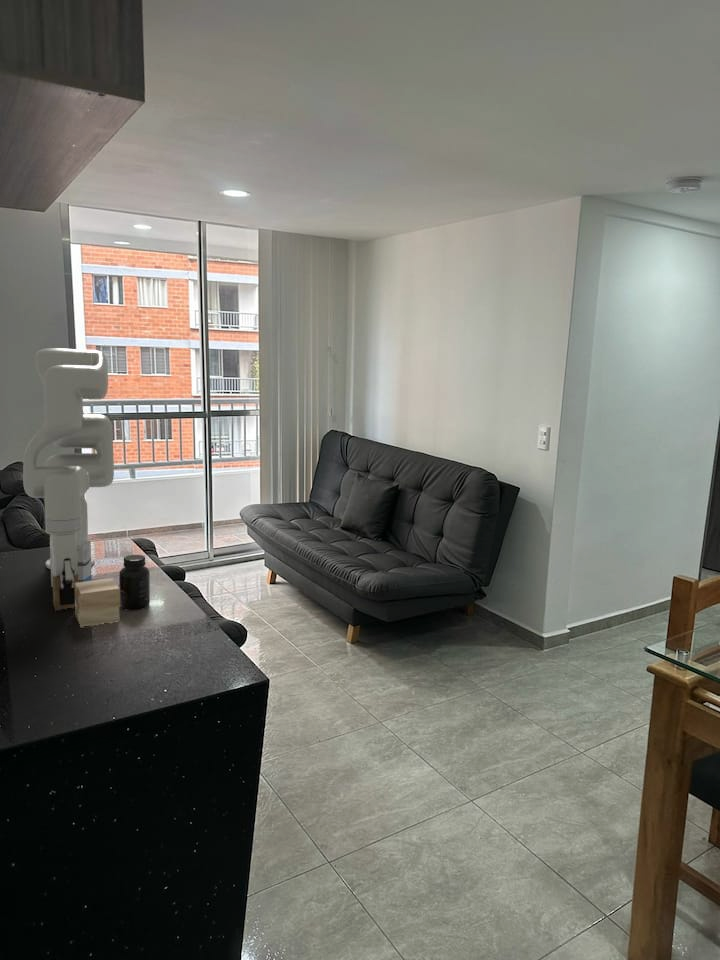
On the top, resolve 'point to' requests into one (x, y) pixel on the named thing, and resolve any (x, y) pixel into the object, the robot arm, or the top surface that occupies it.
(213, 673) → the top surface
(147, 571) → the supplement bottle
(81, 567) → the ink box
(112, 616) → the lower maple slab
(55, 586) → the walnut block
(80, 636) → the top surface
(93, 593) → the upper maple slab
